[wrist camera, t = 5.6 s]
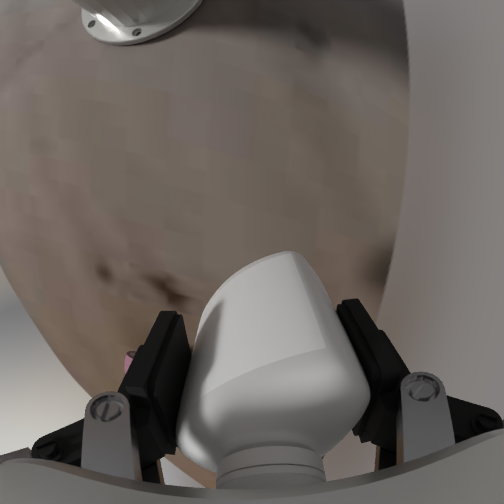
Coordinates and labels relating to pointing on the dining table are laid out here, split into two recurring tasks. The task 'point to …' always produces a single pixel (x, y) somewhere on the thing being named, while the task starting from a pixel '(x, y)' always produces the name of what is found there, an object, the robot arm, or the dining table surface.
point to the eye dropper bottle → (270, 379)
